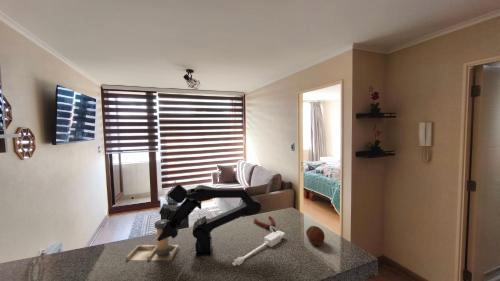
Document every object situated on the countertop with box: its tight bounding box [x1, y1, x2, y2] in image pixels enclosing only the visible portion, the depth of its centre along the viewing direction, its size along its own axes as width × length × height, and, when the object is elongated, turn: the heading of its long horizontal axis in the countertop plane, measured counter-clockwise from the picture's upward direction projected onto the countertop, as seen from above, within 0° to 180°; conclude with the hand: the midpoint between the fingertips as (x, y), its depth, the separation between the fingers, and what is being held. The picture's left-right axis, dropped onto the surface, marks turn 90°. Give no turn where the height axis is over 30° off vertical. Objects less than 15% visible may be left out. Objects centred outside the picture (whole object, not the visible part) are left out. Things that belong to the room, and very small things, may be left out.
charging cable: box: [231, 230, 286, 266], centre depth 100 cm, size 5×32×3 cm, turn 135°
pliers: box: [253, 215, 278, 233], centre depth 122 cm, size 12×20×3 cm, turn 19°
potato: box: [305, 225, 326, 247], centre depth 105 cm, size 8×12×8 cm, turn 16°
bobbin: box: [154, 218, 171, 256], centre depth 95 cm, size 6×6×13 cm
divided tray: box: [125, 243, 180, 261], centre depth 96 cm, size 19×9×3 cm, turn 89°
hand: (159, 237), depth 94 cm, fingers closed on bobbin, 5 cm apart
